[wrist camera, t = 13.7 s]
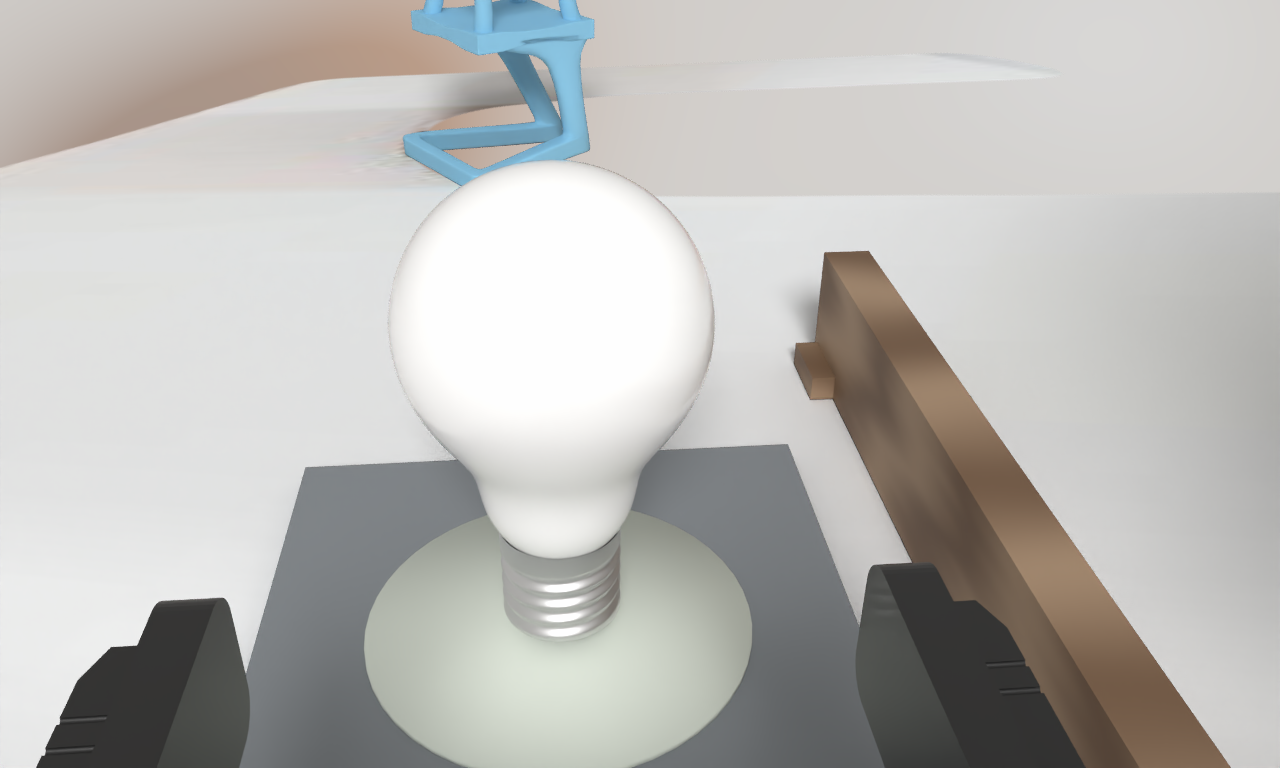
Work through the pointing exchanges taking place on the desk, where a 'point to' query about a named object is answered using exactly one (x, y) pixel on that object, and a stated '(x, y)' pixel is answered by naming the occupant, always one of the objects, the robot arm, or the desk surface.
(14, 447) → the desk surface
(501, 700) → the mat
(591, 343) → the lightbulb
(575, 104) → the chair
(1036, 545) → the walnut fence
